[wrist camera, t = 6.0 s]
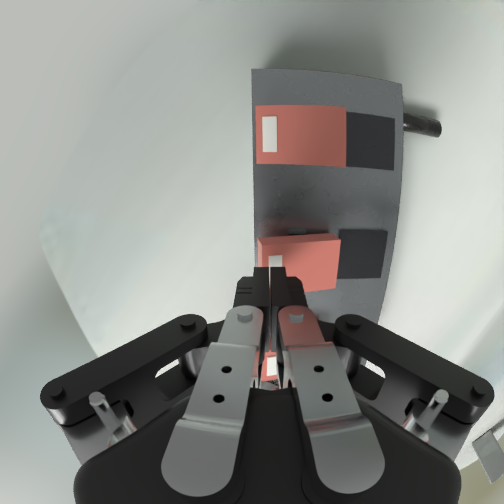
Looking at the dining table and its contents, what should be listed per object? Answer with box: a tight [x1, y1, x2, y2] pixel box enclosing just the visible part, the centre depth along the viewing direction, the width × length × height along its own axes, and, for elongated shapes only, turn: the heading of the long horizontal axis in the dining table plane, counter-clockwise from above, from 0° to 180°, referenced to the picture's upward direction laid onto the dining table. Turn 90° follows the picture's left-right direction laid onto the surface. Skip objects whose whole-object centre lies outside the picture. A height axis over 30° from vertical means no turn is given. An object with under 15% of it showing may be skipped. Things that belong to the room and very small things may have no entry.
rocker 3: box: [258, 233, 341, 292], centre depth 15 cm, size 4×3×1 cm
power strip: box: [251, 69, 442, 366], centre depth 18 cm, size 14×22×4 cm, turn 1°
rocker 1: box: [261, 338, 278, 382], centre depth 18 cm, size 4×3×1 cm
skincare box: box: [472, 430, 504, 484], centre depth 31 cm, size 8×7×16 cm
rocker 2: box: [255, 105, 346, 167], centre depth 13 cm, size 4×3×1 cm
